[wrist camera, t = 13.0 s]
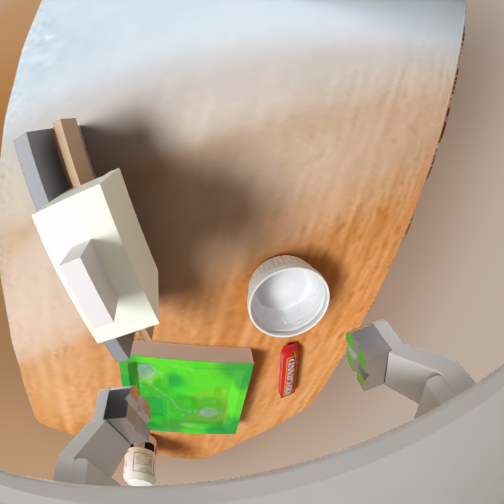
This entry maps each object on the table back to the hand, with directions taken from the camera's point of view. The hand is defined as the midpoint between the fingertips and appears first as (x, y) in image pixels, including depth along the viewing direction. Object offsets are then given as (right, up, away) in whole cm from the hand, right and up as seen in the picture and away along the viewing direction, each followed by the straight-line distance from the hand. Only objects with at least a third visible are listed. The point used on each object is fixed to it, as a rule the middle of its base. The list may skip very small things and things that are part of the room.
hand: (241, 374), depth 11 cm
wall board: (-22, +10, +33) cm, 41 cm away
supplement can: (-29, -46, +57) cm, 79 cm away
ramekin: (+5, -1, +43) cm, 43 cm away
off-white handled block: (-17, +7, +24) cm, 30 cm away
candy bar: (+8, -20, +52) cm, 57 cm away
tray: (-14, -24, +51) cm, 58 cm away
